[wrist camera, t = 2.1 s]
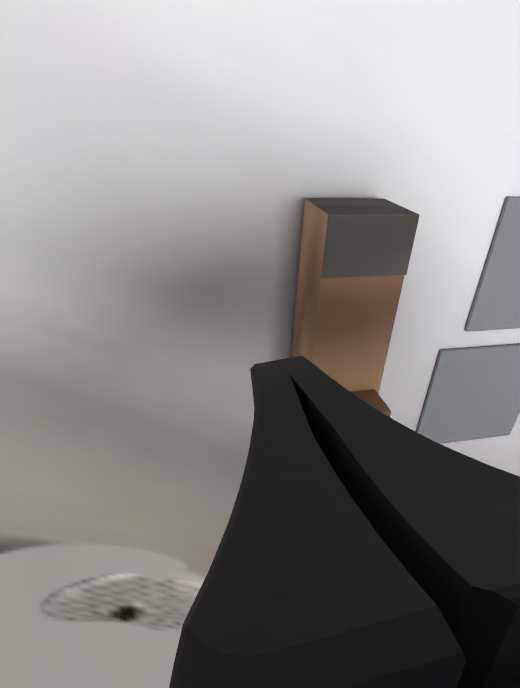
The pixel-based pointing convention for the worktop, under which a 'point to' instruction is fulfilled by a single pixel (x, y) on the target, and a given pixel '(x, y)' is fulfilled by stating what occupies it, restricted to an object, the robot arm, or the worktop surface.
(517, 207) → the seat pad
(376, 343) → the leg
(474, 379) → the foot pad
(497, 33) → the worktop surface
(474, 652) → the robot arm
